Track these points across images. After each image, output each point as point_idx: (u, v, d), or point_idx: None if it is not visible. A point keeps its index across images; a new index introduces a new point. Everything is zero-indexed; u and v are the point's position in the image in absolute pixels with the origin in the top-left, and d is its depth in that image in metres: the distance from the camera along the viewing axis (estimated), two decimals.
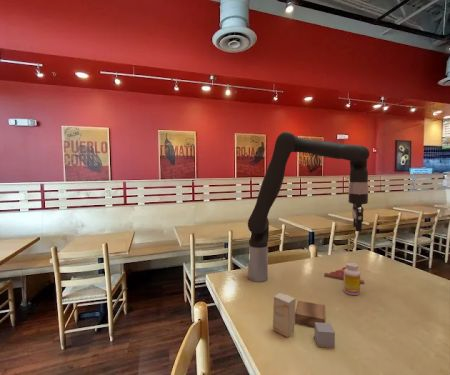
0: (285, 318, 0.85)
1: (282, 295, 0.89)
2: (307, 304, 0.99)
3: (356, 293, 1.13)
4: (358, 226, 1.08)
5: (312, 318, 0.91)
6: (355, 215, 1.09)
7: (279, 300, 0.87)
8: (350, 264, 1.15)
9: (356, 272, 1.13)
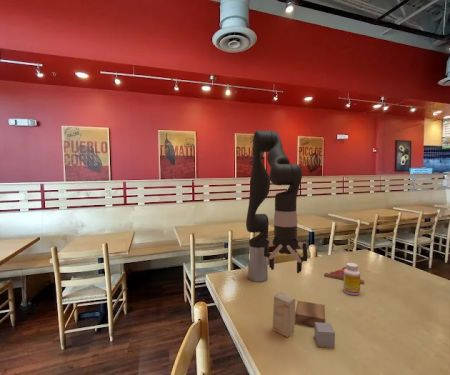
0: (285, 318, 0.85)
1: (282, 295, 0.89)
2: (307, 304, 0.99)
3: (356, 293, 1.13)
4: (301, 266, 0.85)
5: (312, 318, 0.91)
6: (296, 253, 0.84)
7: (279, 300, 0.87)
8: (350, 264, 1.15)
9: (356, 272, 1.13)
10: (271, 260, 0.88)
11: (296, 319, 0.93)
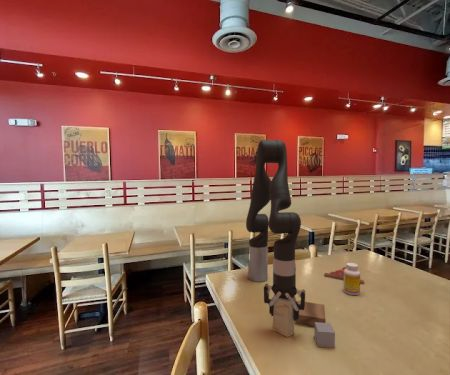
0: (285, 318, 0.85)
1: None
2: (307, 304, 0.99)
3: (356, 293, 1.13)
4: (298, 314, 0.86)
5: (313, 318, 0.91)
6: (294, 302, 0.85)
7: (279, 300, 0.87)
8: (350, 264, 1.15)
9: (356, 272, 1.13)
10: (271, 307, 0.89)
11: None
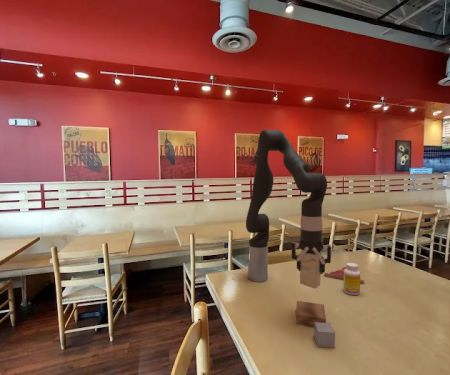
0: (312, 271, 0.92)
1: None
2: (306, 304, 0.99)
3: (356, 293, 1.13)
4: (324, 267, 0.93)
5: (313, 318, 0.91)
6: (321, 256, 0.92)
7: (306, 255, 0.93)
8: (350, 264, 1.15)
9: (356, 272, 1.13)
10: (298, 262, 0.95)
11: (297, 320, 0.92)
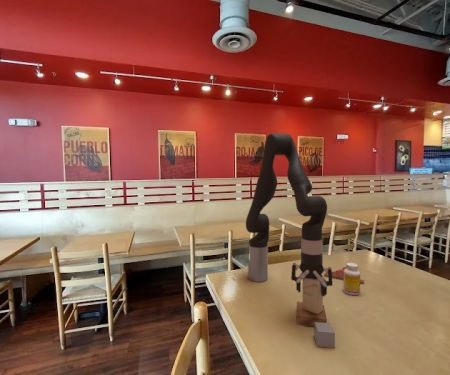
0: (314, 296, 0.92)
1: None
2: None
3: (356, 293, 1.13)
4: (326, 290, 0.93)
5: (314, 319, 0.90)
6: (322, 278, 0.92)
7: (308, 280, 0.94)
8: (350, 264, 1.15)
9: (356, 272, 1.13)
10: (298, 284, 0.95)
11: (298, 321, 0.92)
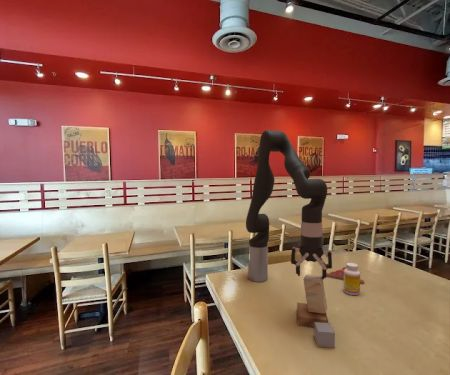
0: (318, 296, 0.92)
1: (310, 276, 0.95)
2: (307, 306, 0.98)
3: (356, 293, 1.13)
4: None
5: (315, 320, 0.90)
6: (322, 261, 0.92)
7: (310, 281, 0.93)
8: (350, 264, 1.15)
9: (356, 272, 1.13)
10: (298, 267, 0.95)
11: (299, 322, 0.91)
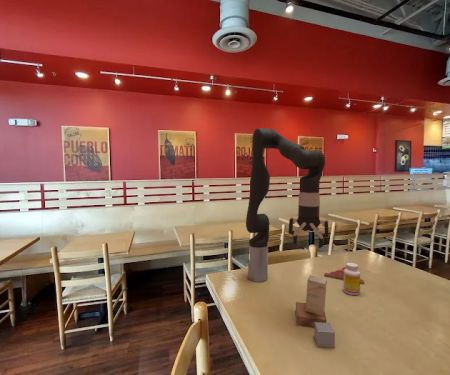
0: (319, 299, 0.91)
1: (314, 278, 0.94)
2: None
3: (356, 293, 1.13)
4: (322, 242, 0.95)
5: (314, 319, 0.90)
6: (318, 230, 0.94)
7: (314, 282, 0.92)
8: (350, 264, 1.15)
9: (356, 272, 1.13)
10: (295, 237, 0.98)
11: (297, 321, 0.91)
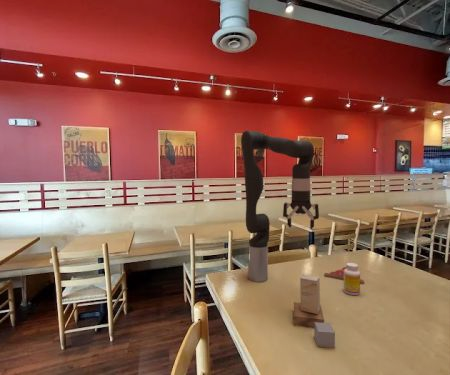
0: (313, 296, 0.92)
1: (307, 276, 0.96)
2: None
3: (356, 293, 1.13)
4: (313, 223, 1.05)
5: (311, 319, 0.90)
6: (310, 213, 1.05)
7: (306, 280, 0.93)
8: (350, 264, 1.15)
9: (356, 272, 1.13)
10: (289, 219, 1.08)
11: (295, 321, 0.92)
